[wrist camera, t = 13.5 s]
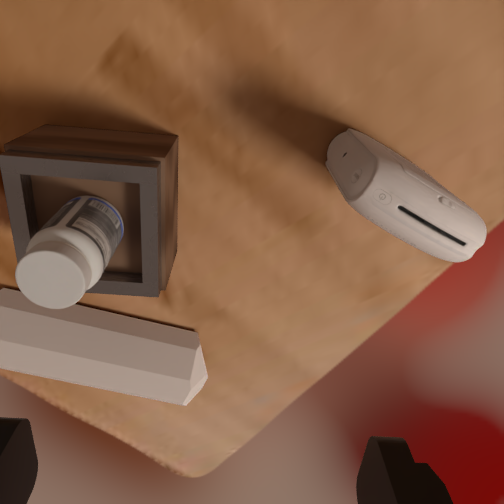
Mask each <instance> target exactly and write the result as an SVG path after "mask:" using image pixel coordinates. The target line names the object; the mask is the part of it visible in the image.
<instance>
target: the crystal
mask: <svg viewBox="0 0 504 504" xmlns="http://www.w3.org/2000/svg"><path fill="white" fill-rule="evenodd" d="M3 306H4V307H3ZM12 308H13V309H12ZM16 309H17V310H16ZM25 311H26V312H25ZM34 313H35V314H34ZM43 315H44V316H43ZM47 316H48V317H47ZM56 318H57V319H56ZM65 320H66V321H65ZM74 322H75V323H74ZM87 325H88V326H87ZM96 327H97V328H96ZM105 329H106V330H105ZM127 334H128V335H127ZM158 341H159V342H158ZM0 368H1V369H6V370H11V371H16V372H21V373H26V374H31V375H36V376H41V377H45V378H50V379H55V380H60V381H65V382H70V383H75V384H80V385H85V386H90V387H94V388H99V389H104V390H109V391H114V392H119V393H124V394H129V395H134V396H138V397H143V398H148V399H153V400H158V401H163V402H168V403H173V404H178V405H183V406H186V405H187V404H188V403H189V402H190V401H191V400H192V399H193V397H194V396H195V395H196V394H197V393H198V392H199V391H200V390H201V389H202V387H203V385H204V384H205V382H206V380H207V378H208V375H207V371H206V367H205V362H204V358H203V353H202V349H201V345H200V340H199V336H198V333H197V332H193V331H189V330H184V329H180V328H176V327H171V326H167V325H163V324H158V323H154V322H150V321H145V320H141V319H137V318H132V317H128V316H124V315H120V314H115V313H111V312H107V311H102V310H98V309H94V308H89V307H85V306H81V305H76V304H74V305H72V306H69V307H66V308H62V309H50V308H46V307H42V306H40V305H37V304H35V303H33V302H32V301H30V300H29V299H28V298H27V297H26V296H25V295H24V294H23V293H22V292H20V291H16V290H12V289H7V288H3V289H1V290H0Z"/></svg>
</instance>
